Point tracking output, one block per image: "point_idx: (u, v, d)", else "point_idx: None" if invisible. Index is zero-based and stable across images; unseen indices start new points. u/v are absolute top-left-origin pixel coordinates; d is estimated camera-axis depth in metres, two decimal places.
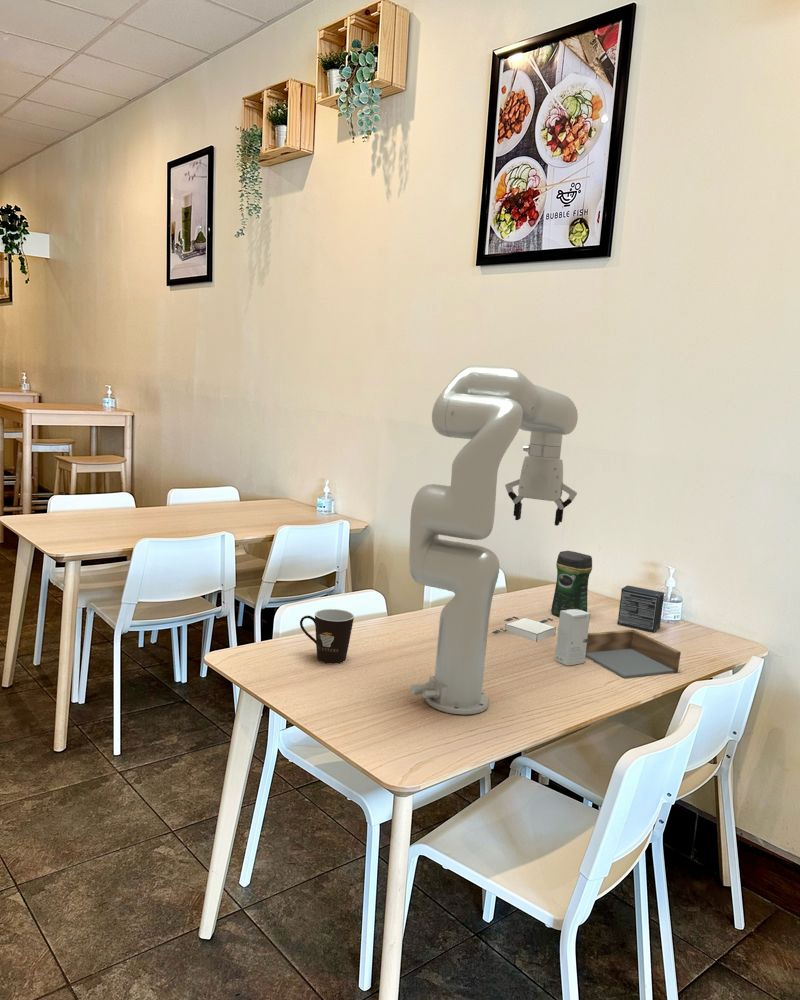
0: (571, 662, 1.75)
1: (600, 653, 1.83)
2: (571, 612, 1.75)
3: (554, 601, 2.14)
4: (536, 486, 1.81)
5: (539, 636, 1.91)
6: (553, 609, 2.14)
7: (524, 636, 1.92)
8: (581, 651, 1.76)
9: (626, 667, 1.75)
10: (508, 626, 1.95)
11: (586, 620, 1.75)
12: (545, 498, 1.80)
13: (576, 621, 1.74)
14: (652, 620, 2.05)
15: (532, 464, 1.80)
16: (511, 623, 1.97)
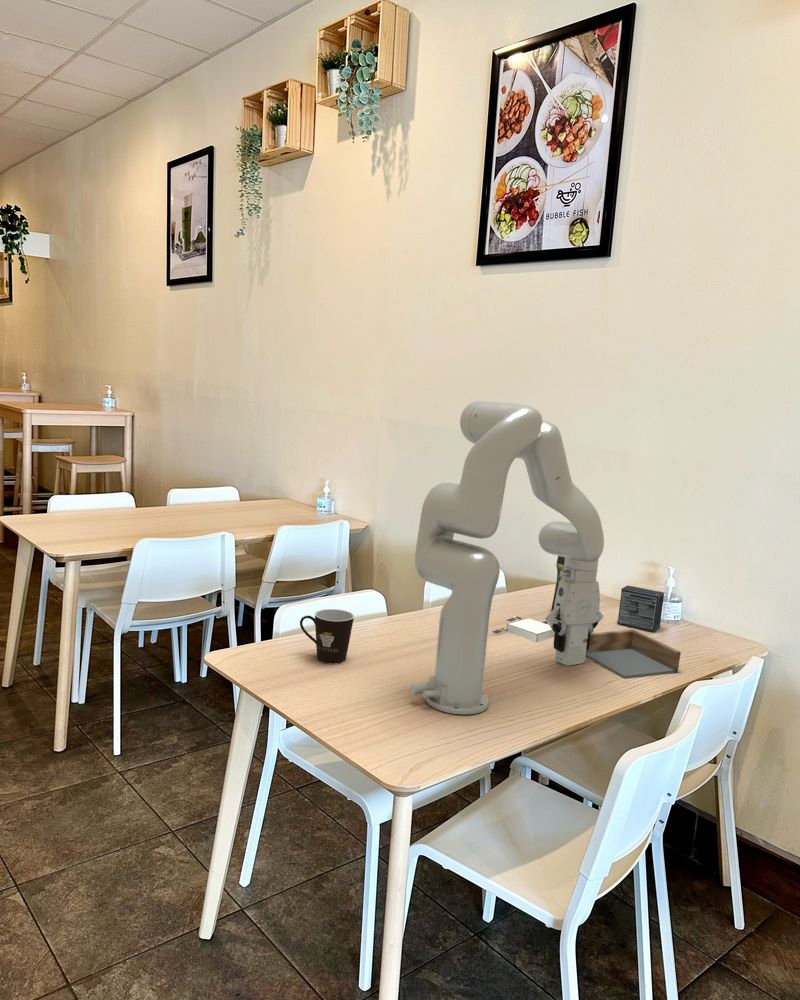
0: (571, 662, 1.75)
1: (600, 653, 1.83)
2: None
3: (554, 601, 2.14)
4: (581, 612, 1.73)
5: (540, 636, 1.91)
6: (553, 609, 2.14)
7: (525, 636, 1.92)
8: (581, 651, 1.76)
9: (626, 667, 1.75)
10: (510, 626, 1.95)
11: None
12: (588, 622, 1.74)
13: None
14: (652, 620, 2.05)
15: (578, 590, 1.71)
16: (513, 623, 1.97)
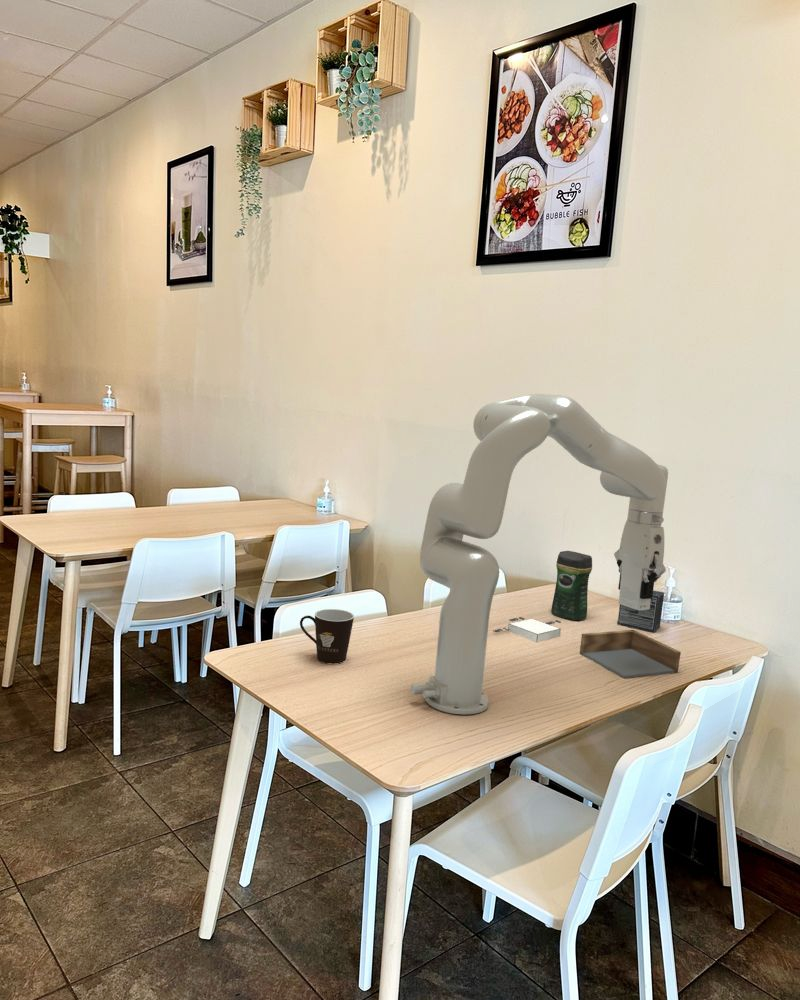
0: None
1: (600, 653, 1.83)
2: None
3: (554, 601, 2.14)
4: None
5: (540, 636, 1.90)
6: (553, 609, 2.14)
7: (525, 636, 1.92)
8: None
9: (626, 667, 1.75)
10: (511, 625, 1.96)
11: None
12: None
13: None
14: (652, 620, 2.05)
15: None
16: (515, 623, 1.97)
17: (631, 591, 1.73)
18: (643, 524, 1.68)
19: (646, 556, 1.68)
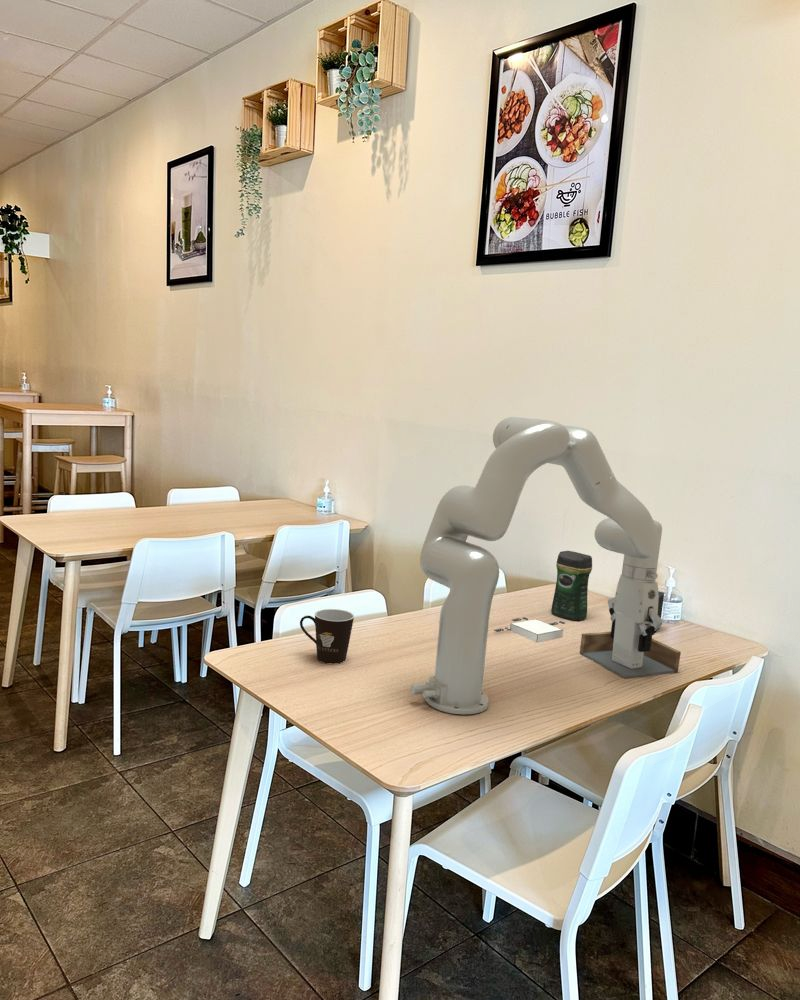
0: None
1: (600, 653, 1.83)
2: None
3: (554, 601, 2.14)
4: None
5: (541, 637, 1.90)
6: (553, 609, 2.14)
7: (526, 636, 1.92)
8: None
9: (626, 667, 1.75)
10: (513, 625, 1.96)
11: None
12: None
13: None
14: None
15: None
16: (517, 623, 1.97)
17: (624, 649, 1.75)
18: (637, 580, 1.70)
19: (640, 611, 1.70)
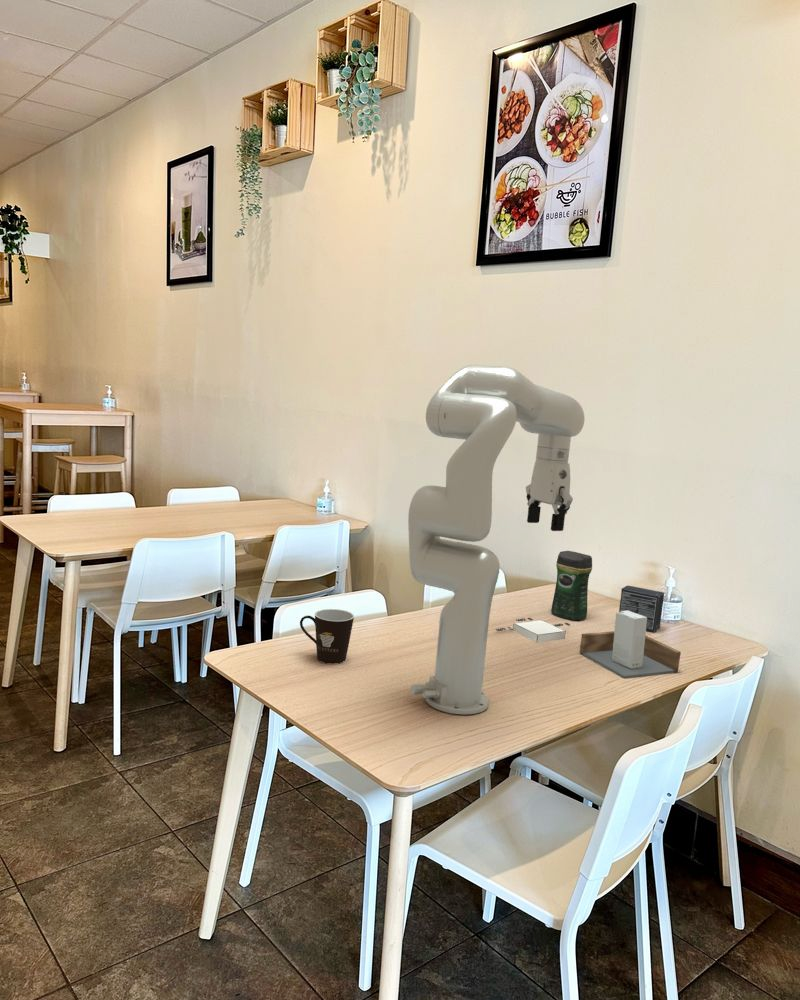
0: None
1: (600, 653, 1.83)
2: (637, 615, 1.74)
3: (554, 601, 2.14)
4: None
5: (541, 637, 1.90)
6: (553, 609, 2.14)
7: (527, 636, 1.92)
8: None
9: (626, 667, 1.75)
10: (515, 625, 1.96)
11: None
12: None
13: None
14: (652, 620, 2.05)
15: None
16: (520, 623, 1.97)
17: (624, 649, 1.75)
18: (549, 460, 1.74)
19: (552, 491, 1.74)
